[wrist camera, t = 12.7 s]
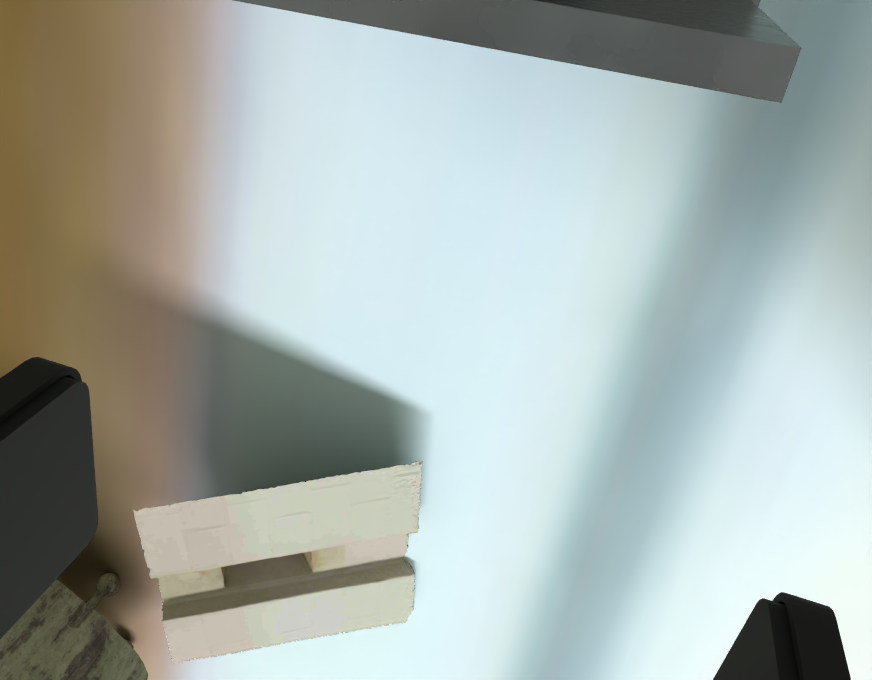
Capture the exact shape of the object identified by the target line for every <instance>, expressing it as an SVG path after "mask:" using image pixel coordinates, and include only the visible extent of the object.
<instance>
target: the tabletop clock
mask: <svg viewBox="0 0 872 680" xmlns="http://www.w3.org/2000/svg"><path fill="white" fill-rule="evenodd" d="M96 588H97V592H96V593H95V594H94V595H93V596H92V597H91V598H90V599H89V600H88V601H87V602H86V603H85V602H84V601H83V600H82V599H80V598H79V597H78V596H77V595H75V594H74V593H73V592H72V591H71V590H69V589H68V588H67V587H66V586H64V585H63V584H62V583H61V582H59V581H58V580H55V581H54V582H53V583H52V584H51V585H50V586H49V587H48V589H47V590H46V591H45V592H44V593H43V594H42V595H41V596H40V597H39V598H38V599H37V600H36V601H35V603H34V604H33V605H32V606H31V607H30V608H29V609H28V610H27V611H26V612H25V613H24V614H23V615H22V617H21V618H20V619H19V620H18V621H17V622H16V623H15V624H14V625H13V626H12V627H11V628H10V630H9V631H8V632H7V633H6V634H5V635H4V636H3V637H2V638H1V639H0V680H147V678H148V673H147V671H146V668H145V666H144V664H143V662H142V660H141V659H140V657H139V655H138V654H137V653H136V652H135V650H134V649H133V648H134V647H133V645H132V643H131V642H130V641H128V640H126V639H123V638H122V637H121V636H120V635H119V634H118V633H117V632H116V631H115V630H114V629H113V628H112V627H111V626H110V625H109V624H108V622H107V621H106V620H105V619H104V618H103V617H102V616H101V615H100V614H99V613H97V612H96V611H95V610H94V608H95V607H96V605H97V604H98V602H99V601H100V600H101V598H102V597H103V596H107V597H108V596H112V595H114V594H115V593H116V592H117V591H118V590H119V588H120V580H119V578H118V576H117V575H115V574H113V573H107V574H104V575H102V576H101V577H100V578H99V579H98V581H97V584H96Z"/></svg>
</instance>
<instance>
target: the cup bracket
mask: <svg viewBox="0 0 872 680" xmlns="http://www.w3.org/2000/svg"><path fill="white" fill-rule="evenodd" d="M234 1H240V2H245V3H251V4H256V5H261V6H267V7H272V8H277V9H283V10H288V11H293V12H299V13H304V14H309V15H315V16H320V17H325V18H331V19H336V20H341V21H347V22H352V23H357V24H363V25H368V26H373V27H379V28H384V29H389V30H395V31H400V32H405V33H411V34H416V35H421V36H427V37H432V38H437V39H443V40H448V41H453V42H459V43H464V44H469V45H475V46H480V47H486V48H491V49H496V50H502V51H507V52H512V53H518V54H523V55H528V56H534V57H539V58H544V59H550V60H555V61H560V62H566V63H571V64H576V65H582V66H587V67H592V68H598V69H603V70H608V71H614V72H619V73H624V74H630V75H635V76H640V77H646V78H651V79H656V80H662V81H667V82H672V83H678V84H683V85H688V86H694V87H699V88H704V89H710V90H715V91H721V92H726V93H731V94H737V95H742V96H747V97H753V98H758V99H763V100H769V101H774V102H779V103H781V102H782V100H783V97H784V94H785V92H786V89H787V86H788V83H789V81H790V78H791V75H792V72H793V70H794V67H795V64H796V61H797V59H798V56H799V53H800V50H801V47H800V46H799V45H798V44H797V43H796V42H794V41H793V40H792V39H791V38H790V37H789V36H788V35H787V34H786V33H785V32H784V31H783V30H782V29H781V28H780V27H779V26H778V25H777V24H775V23H774V22H773V21H772V20H771V19H770V18H769V17H768V16H767V15H766V14H765V13H764V12H763V11H762V10H761V9H760V8H759V7H758V5H759V2H760V0H234Z"/></svg>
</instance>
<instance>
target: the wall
mask: <svg viewBox="0 0 872 680" xmlns="http://www.w3.org/2000/svg"><path fill="white" fill-rule="evenodd" d="M421 466H423V464H422V461H421V462H419V461H416V462H415V463H411V465H409V466H408V464H406V465H404V466H403V465H397V466H393V467H390V469H389V468H381V469H378V470H374V471H373V470H369V471H365V472H364V471H362V472H361V473H360V474H359V472H354V473H351V474H349V475H343V474H342V475H340V476H338V475H336V476H334V477H326V478H321V479H318V480H313V481H312V480H309V481H306V482H299V483H293V484H288V485H284V486H277V487H276V488H271V487H270V488H269V489H257V490H254V491H248V492H242V494H234V495H233V494H230V495H225V496H219V497H218V496H217V497H212V498H207V499H200V500H198V501H197V500H195V501H185V502H181V503H177V504H172V505H171V506H168V505H165V506H159V507H157V508H156V507H155V506H154V507H152V508H144V509H142V510H138V511H137V512H136V511H135V510H133V511H134V512H135V514H134V516H135V521H136V523H137V524H136V525H137V530H138V531H139V533H140V534H139V536H140V539H141V540H142V541H141V545H142V550H143V549H145V551H144V557H145V560H146V563H147V567H148V568H150V574H149V575H150V577H151V578H150V579H152V578H158V579H159V581H158V582H159V584H160V585H159V586H160V588H159V591H161V592H160V593H161V598H162V599H163V600H164V602H162V603H164V604H163V606H162V607H163V608H162V611H164V612H163V620H161V621H162V623H163V625H164V628H165V632H164V633H165V634H166V636H167V638H166V639H167V642H168V643H169V645H168V648H170V650H169V651H170V654H172V656H171V657H172V658H171V659H172V662H173V663H177V662H178V663H179V662H183V661H190V660H195V659H201V658H208V657H217V656H220V655H221V656H222V655H226V654H228V653H231V654H233V653H238V652H241V651H242V652H243V651H248V650H253V649H259V648H262V647H269V646H272V645H273V646H274V645H280V644H282V643H283V644H284V643H288V642H292V641H299V640H304V639H310V638H311V639H313V638H317V637H321V636H327V635H329V636H330V635H336V634H339V633H343V632H345V633H348V632H351V631H356V630H361V629H369V628H370V629H371V628H372V627H378V626H382V625H384V626H388V625H389V624H397V623H405V622H406V621H407V618H408V616H409V615H410V614H411V612H412V611H413V609H414V608H413V607H412V606H414V604H413V600H414V598H413V597H414V595H415V592H412V591H413V590H414V589H415V588H414V586H415V585H414V582H415V581H414V580H415V579H414V578H415V572H414V571H413V570H412V569H411V567H410V564H409V563H406V562H405V561H404V560H403V557H404V555H405V553H406V552H407V550H406V549H407V548H408V546H407V542H408V541H407V540H408V538H409V536H407V534H411V533H417V532H418V528H419V526H418V523H419V517H418V515H419V509H420V507H419V506H420V504H419V503H420V502H419V501H420V499H419V498H418V497H420V489H421V488H420V486H421V484H420V483H421V482H422V479H421V476H422V474H421V473H422V471H421V469H422V468H421ZM194 658H195V659H194Z"/></svg>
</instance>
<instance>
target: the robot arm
mask: <svg viewBox="0 0 872 680" xmlns="http://www.w3.org/2000/svg"><path fill="white" fill-rule="evenodd" d="M97 525H98V511H97V497H96V483H95V469H94V455H93V440H92V426H91V412H90V398H89V389H88V386H87V385H86V383H84V382H82V380H81V376H80V374H79V372H78V371H77V370H76V369H74V368H72V367H68V366H65V365H62V364H59V363H56V362H53V361H49V360H46V359H43V358H40V357H34V358H31V359H29V360H27V361H25V362H23V363H22V364H20V365H19V366H18V367H16V368H15V369H13V370H12V371H10V372H9V373H7V374H6V375H4V376H3V377H2V378H0V639H1V638H2V637H3V636H4V635H5V634H6V633H7V632H8V631H9V630H10V628H11V627H12V626H13V625H14V624H15V623H16V622H17V621H18V620H19V619H20V618H21V617H22V615H23V614H24V613H25V612H26V611H27V610H28V609H29V608H30V607H31V606H32V605H33V604H34V603H35V601H36V600H37V599H38V598H39V597H40V596H41V595H42V594H43V593H44V592H45V591H46V590H47V589H48V587H49V586H50V585H51V584H52V583H53V582H54V581H55V580H56V579H57V578H58V577H59V576H60V575H61V573H62V572H63V571H64V570H65V569H66V568H67V567H68V566H69V565H70V564H71V563H72V562H73V560H74V559H75V558H76V557H77V556H78V555H79V554H80V553H81V552H82V551H83V550H84V549H85V548H86V546H87V545H88V544H89V543H90V541H91V540H92V538H93V536H94V534H95V531H96V529H97ZM713 680H851V678H850V674H849V670H848V666H847V662H846V658H845V653H844V649H843V645H842V641H841V637H840V633H839V629H838V625H837V620H836V617H835V614H834V612H833V610H832V609H831V608H830V607H828V606H825V605H822V604H819V603H816V602H813V601H809V600H806V599H803V598H800V597H797V596H794V595H790V594H787V593H782V592H781V593H779V594H778V595H777V596H776V597H775V598H774V600H773V601H770V600H767V599H761V600H759V601H758V603H757V604H756V605H755V607H754V609H753V611H752V612H751V614H750V616H749V618H748V619H747V621H746V623H745V625H744V626H743V628H742V630H741V632H740V633H739V635H738V637H737V639H736V640H735V642H734V644H733V646H732V647H731V649H730V651H729V653H728V654H727V656H726V658H725V660H724V661H723V663H722V665H721V667H720V668H719V670H718V672H717V674H716V675H715V677H714V679H713Z"/></svg>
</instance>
